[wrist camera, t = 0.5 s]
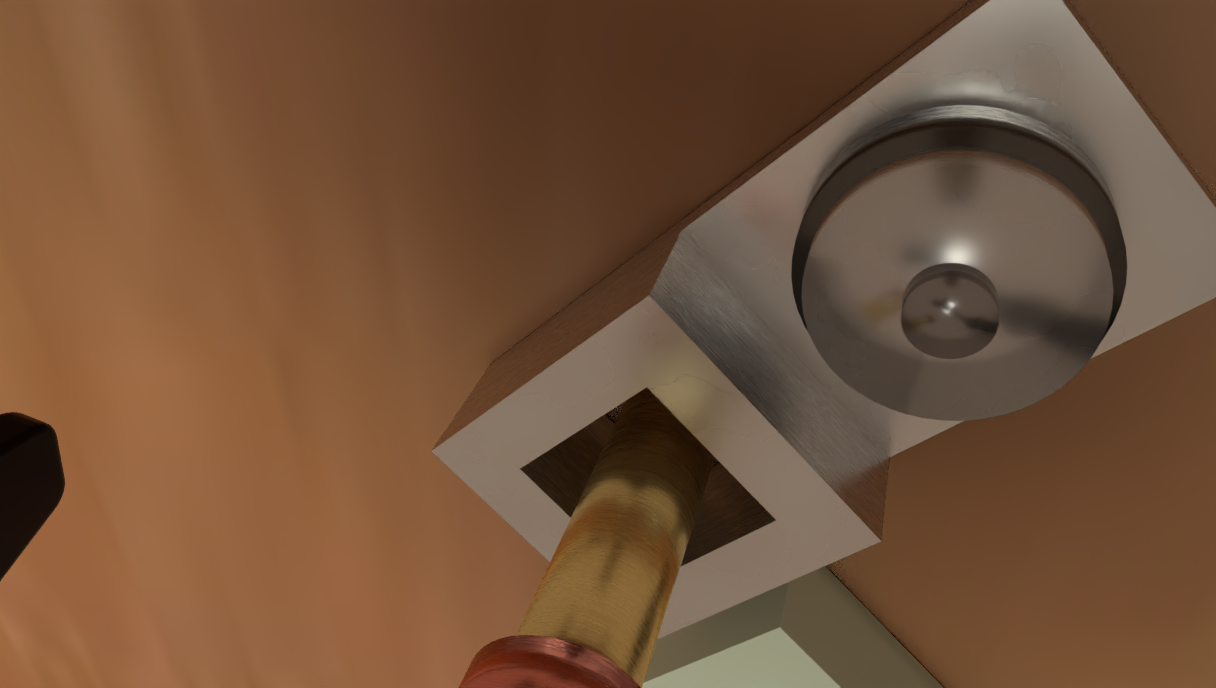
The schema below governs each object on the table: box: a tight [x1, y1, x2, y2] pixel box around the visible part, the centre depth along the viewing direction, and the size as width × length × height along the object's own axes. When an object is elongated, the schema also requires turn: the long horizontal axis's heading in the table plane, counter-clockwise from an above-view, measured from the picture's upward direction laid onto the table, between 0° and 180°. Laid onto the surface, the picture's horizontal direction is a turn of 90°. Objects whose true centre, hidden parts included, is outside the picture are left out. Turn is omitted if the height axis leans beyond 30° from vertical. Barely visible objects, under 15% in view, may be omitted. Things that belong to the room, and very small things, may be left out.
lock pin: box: [459, 387, 715, 688], centre depth 20 cm, size 3×3×10 cm
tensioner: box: [432, 0, 1216, 639], centre depth 21 cm, size 7×15×4 cm, turn 134°
